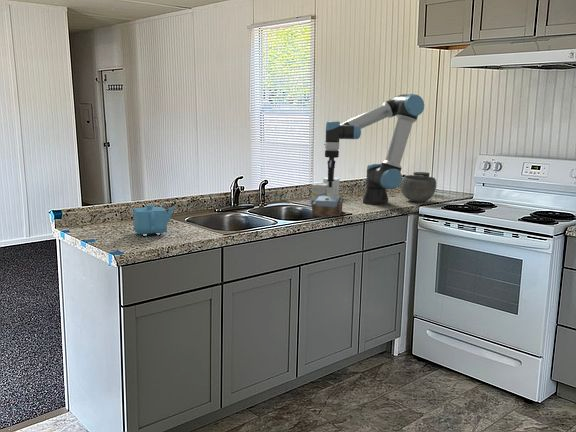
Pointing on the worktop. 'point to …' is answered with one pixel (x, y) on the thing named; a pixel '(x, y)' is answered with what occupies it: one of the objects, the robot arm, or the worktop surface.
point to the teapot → (151, 219)
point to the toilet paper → (335, 187)
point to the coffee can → (421, 174)
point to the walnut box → (326, 210)
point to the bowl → (418, 187)
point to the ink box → (318, 191)
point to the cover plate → (327, 201)
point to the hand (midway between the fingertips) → (330, 192)
